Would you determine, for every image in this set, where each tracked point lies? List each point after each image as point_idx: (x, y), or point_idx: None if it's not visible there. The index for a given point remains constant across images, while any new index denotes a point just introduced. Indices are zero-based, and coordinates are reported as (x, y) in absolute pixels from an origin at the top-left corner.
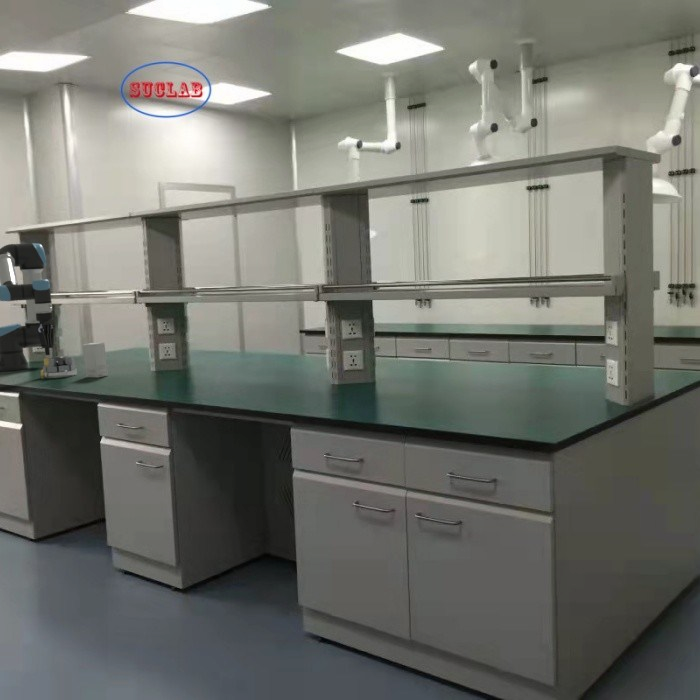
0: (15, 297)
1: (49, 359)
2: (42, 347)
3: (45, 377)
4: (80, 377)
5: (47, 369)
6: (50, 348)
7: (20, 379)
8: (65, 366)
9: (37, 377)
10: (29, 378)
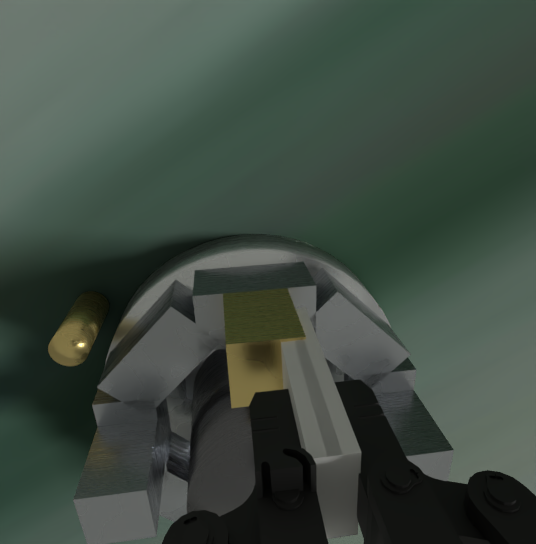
0: None
1: (76, 508)
2: (191, 518)
3: (125, 310)
4: (155, 538)
5: (99, 390)
6: (325, 530)
7: (29, 57)
8: (178, 516)
9: (175, 189)
10: (107, 135)
